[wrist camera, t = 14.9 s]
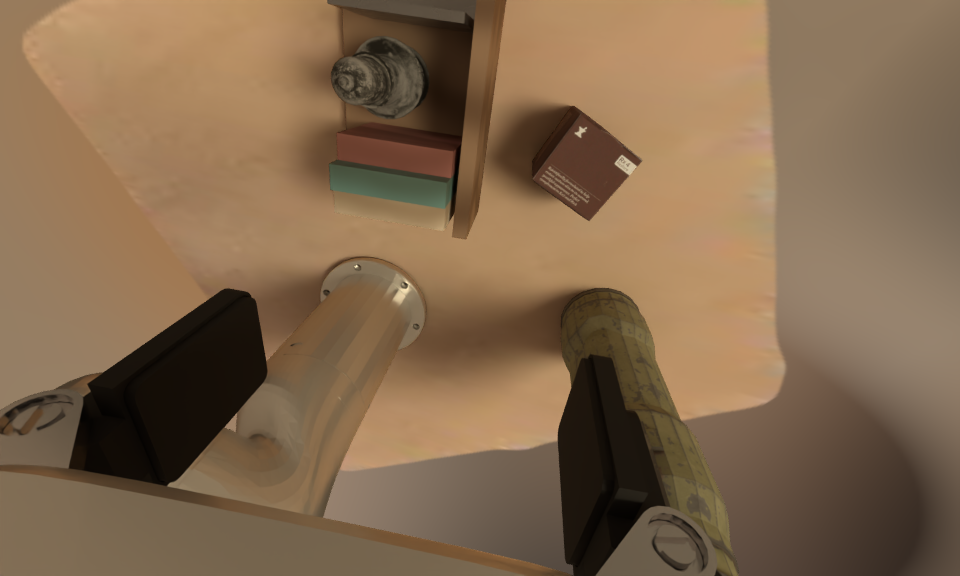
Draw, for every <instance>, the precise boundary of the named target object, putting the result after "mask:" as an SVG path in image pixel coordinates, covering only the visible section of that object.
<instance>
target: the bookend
mask: <svg viewBox="0 0 960 576" xmlns="http://www.w3.org/2000/svg"><path fill="white" fill-rule="evenodd" d="M476 1H477V0H327V3H328V4H330V5H333V6H336V7H339V8H342V9H345V10H348V11H351V12H354V13H357V14H360V15H363V16H366V17H369V18H373V19H379V20H386V21H393V22H400V23H407V24H413V25H420V26H427V27H434V28H441V29H448V30H454V31H461V32H468V33H473V30H474V20H475V11H476Z"/></svg>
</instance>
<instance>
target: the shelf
mask: <svg viewBox="0 0 960 576" xmlns="http://www.w3.org/2000/svg"><path fill="white" fill-rule="evenodd" d="M505 5H506V0H477V1H476V11H475V20H474V30H473V33H468V32H461V31H454V30H448V29H441V28H434V27H427V26H420V25H413V24H407V23H400V22H393V21H386V20H379V19H373V18H369V17H366V16H363V15H360V14H357V13H354V12H351V11H348V10H345V9H342V13H343V44H344V57H352V56H353V55H354V54H355V53H356V51H357V50H358V48H359V47H360V45H362V44H363V43H364V42H365V41H366V40H368V39H371V38H373V37H376V36H388V37H392V38H395V39H398V40H399V41H401V42H402V43H404V44H406V45H408V46H410V47H411V48H413V49H414V50H416V51H417V52H418V53H419V54H420V55H421V57H422V58H423V60H424V62H425V63H426V66H427V69H428V72H429V82H430V83H429V89H428V93H427V95H426V97H425V99H424V101H423V102H422V103H421V104H420V105H419V106H418V107H416V108H415V109H413V110H412V111H411V112H410V113H409V114H407V115H406V116H404V117H401V118H398V119H384V118H380V117H377V116H375V115H374V114H372V113H370V112H369V111H368V110H367V109H366V108H365V107H364V106H362V105H351V104H348V103H346V102H345V106H346V130H344V131H341V132H338V133H337V153H338V160H336V161H334V162H332V163H329V172H330V190H333V191H334V211H335V213H339V214H345V215H351V216H357V217H363V218H369V219H374V220H380V221H386V222H392V223H398V224H404V225H410V226H416V227H422V228H428V229H433V230H439V231H444V230H445V228H446V226H447V225H448V223H449V221H450V220H451V218H452V216H453V214H454V213H455V214H454V224H453V234H452V237H454V238H460V239H467V236H468V234H469V231H470V229H471V227H472V224H473V222H474V219H475V217H476V215H477V212H478V208H479V200H480V193H481V185H482V178H483V170H484V163H485V155H486V148H487V140H488V133H489V125H490V118H491V110H492V103H493V95H494V87H495V80H496V72H497V65H498V57H499V50H500V42H501V35H502V27H503V20H504V12H505Z"/></svg>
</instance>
